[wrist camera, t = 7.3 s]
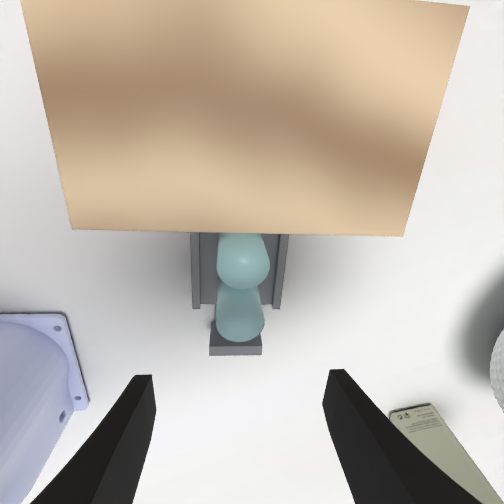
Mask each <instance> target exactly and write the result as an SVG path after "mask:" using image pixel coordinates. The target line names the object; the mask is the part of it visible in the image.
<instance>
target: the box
mask: <svg viewBox="0 0 504 504" xmlns="http://www.w3.org/2000/svg"><path fill="white" fill-rule="evenodd" d="M390 421H391V422H392V423H393V424H394V425H395V426H396V427H397V428H398V429H399V430H400V431H401V432H402V433H403V434H404V435H405V436H406V437H407V438H408V439H409V440H410V441H411V442H412V443H413V444H414V445H415V446H416V447H417V448H418V449H419V450H420V451H421V452H422V453H423V454H424V455H425V456H427V457H428V458H429V459H430V460H431V461H432V462H433V463H434V464H435V465H437V466H438V467H439V468H440V469H441V470H442V471H443V472H444V473H446V474H447V475H448V476H449V477H450V478H452V479H453V480H454V481H455V482H456V483H458V484H459V485H460V486H461V487H463V488H464V489H465V490H466V491H468V492H469V493H470V494H471V495H473V496H474V497H475V498H476V499H478V500H479V501H480V502H481V503H483V504H504V502H503V501H502V500H501V498H500V497H499V496H498V494H497V493H496V492H495V490H494V489H493V487H492V486H491V485H490V483H489V482H488V481H487V479H486V478H485V476H484V475H483V474H482V472H481V471H480V470H479V468H478V467H477V466H476V464H475V463H474V461H473V460H472V459H471V457H470V456H469V455H468V453H467V452H466V451H465V449H464V448H463V446H462V445H461V444H460V442H459V441H458V440H457V438H456V437H455V436H454V434H453V433H452V431H451V430H450V429H449V427H448V426H447V424H446V423H445V422H444V420H443V419H442V417H441V416H440V415H439V413H438V412H437V411H436V409H435V408H434V406H433V405H429V406H422V407H417V408H413V409H408V410H404V411H399V412H395V413H392V414H391V416H390Z"/></svg>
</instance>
